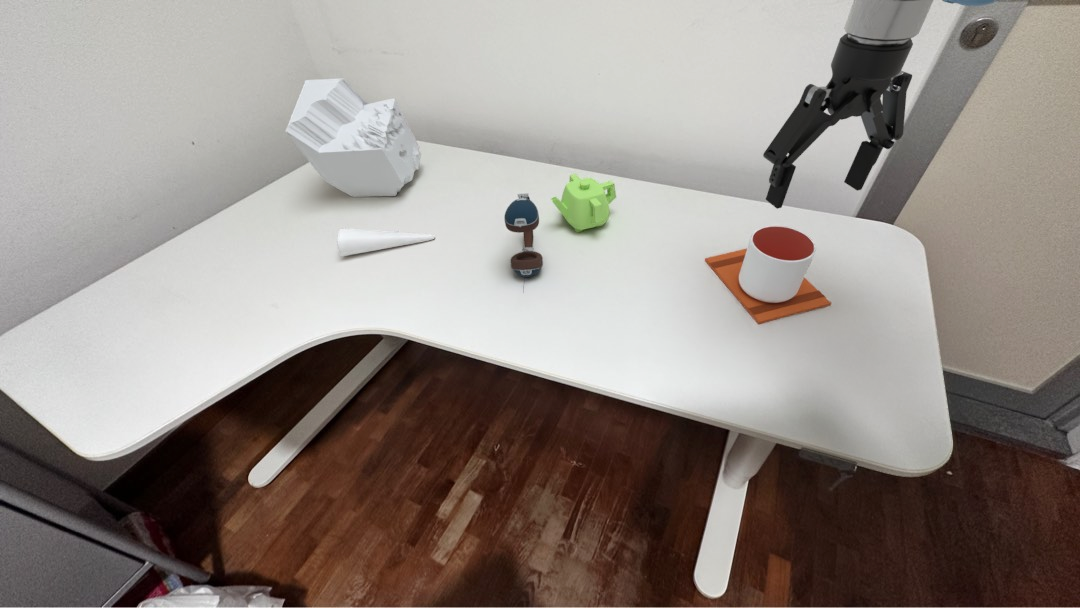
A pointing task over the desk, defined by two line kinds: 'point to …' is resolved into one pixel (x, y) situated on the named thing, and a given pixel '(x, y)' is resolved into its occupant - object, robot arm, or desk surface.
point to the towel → (763, 311)
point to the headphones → (524, 220)
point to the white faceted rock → (353, 139)
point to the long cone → (375, 240)
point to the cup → (776, 263)
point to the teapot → (585, 202)
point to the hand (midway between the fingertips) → (813, 194)
